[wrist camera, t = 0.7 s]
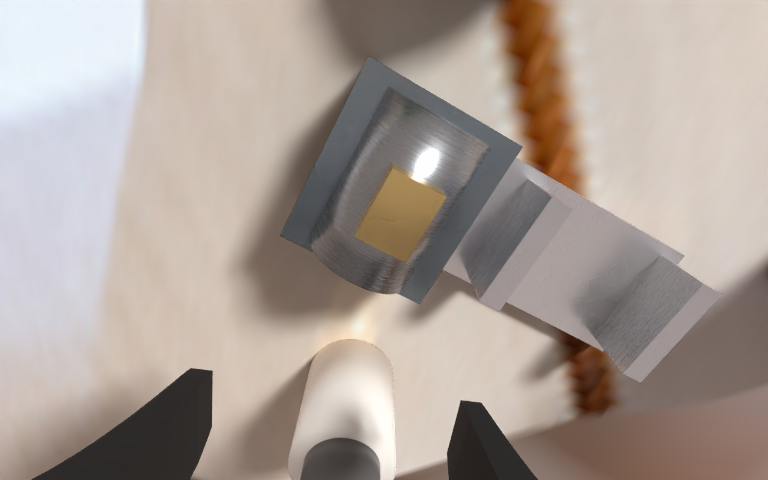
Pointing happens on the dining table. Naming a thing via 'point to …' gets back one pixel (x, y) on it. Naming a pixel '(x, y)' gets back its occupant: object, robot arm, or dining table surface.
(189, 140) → the dining table surface
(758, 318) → the dining table surface
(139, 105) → the dining table surface
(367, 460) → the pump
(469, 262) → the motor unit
